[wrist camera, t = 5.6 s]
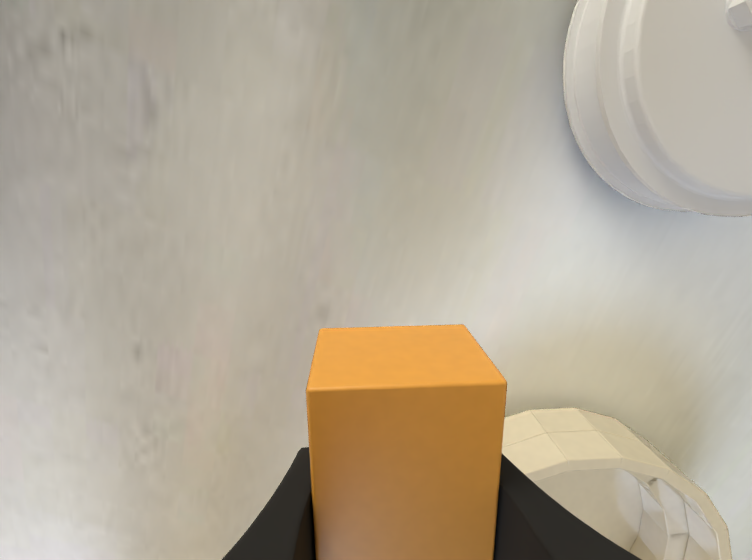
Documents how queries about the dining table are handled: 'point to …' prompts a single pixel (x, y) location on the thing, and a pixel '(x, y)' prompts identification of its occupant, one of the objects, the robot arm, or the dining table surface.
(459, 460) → the orange rectangular block
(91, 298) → the dining table surface
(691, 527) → the bowl
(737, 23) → the lid
